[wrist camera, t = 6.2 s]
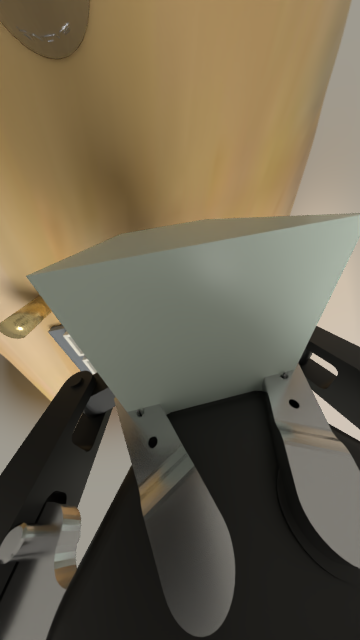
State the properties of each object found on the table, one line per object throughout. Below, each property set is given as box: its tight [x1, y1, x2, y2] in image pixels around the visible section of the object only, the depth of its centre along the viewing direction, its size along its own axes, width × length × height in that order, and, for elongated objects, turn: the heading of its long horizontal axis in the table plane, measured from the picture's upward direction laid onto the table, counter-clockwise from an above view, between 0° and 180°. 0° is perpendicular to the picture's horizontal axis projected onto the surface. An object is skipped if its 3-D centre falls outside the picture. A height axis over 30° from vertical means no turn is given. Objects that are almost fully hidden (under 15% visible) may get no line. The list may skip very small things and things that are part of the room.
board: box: [48, 325, 97, 374], centre depth 31 cm, size 14×24×8 cm, turn 98°
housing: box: [26, 213, 360, 415], centre depth 9 cm, size 12×6×9 cm, turn 8°
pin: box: [0, 296, 52, 339], centre depth 23 cm, size 3×3×8 cm
